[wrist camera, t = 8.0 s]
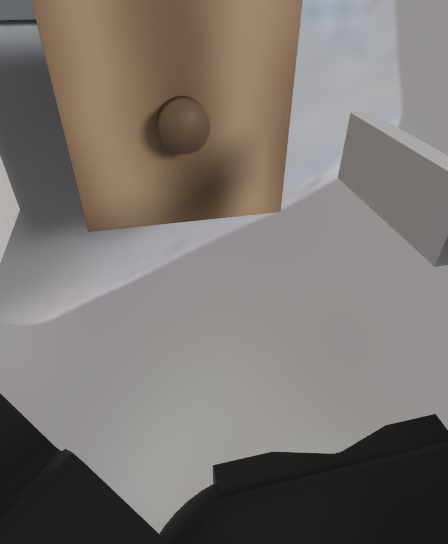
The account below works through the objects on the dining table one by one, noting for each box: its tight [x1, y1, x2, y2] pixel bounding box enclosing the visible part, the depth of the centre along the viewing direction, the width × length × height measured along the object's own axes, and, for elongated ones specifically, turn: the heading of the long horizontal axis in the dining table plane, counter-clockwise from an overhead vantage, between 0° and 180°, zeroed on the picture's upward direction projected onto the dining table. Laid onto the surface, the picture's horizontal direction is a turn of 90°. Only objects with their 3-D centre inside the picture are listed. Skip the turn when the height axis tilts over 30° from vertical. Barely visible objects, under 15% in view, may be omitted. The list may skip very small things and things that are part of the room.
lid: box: [31, 0, 302, 232], centre depth 20 cm, size 11×11×5 cm
